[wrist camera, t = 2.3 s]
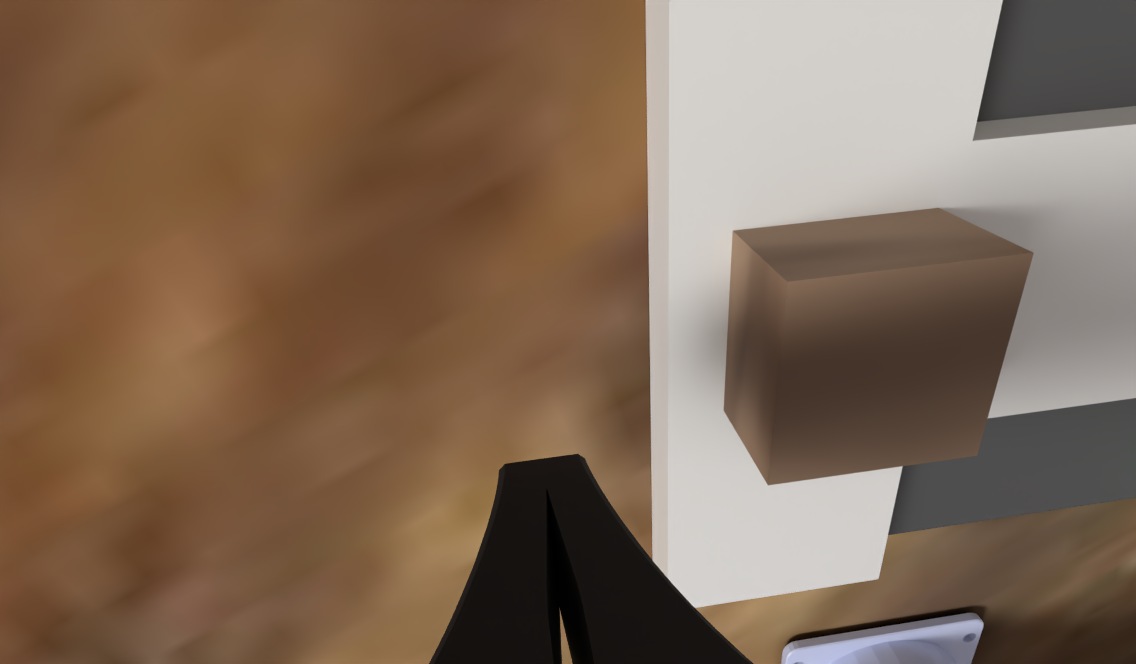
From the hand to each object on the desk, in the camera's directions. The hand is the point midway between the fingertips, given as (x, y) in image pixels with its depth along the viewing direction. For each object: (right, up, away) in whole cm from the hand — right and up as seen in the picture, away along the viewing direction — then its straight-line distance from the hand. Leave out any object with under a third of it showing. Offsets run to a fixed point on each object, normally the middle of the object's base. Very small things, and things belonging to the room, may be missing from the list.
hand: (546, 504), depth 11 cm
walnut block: (+7, +3, +5) cm, 9 cm away
